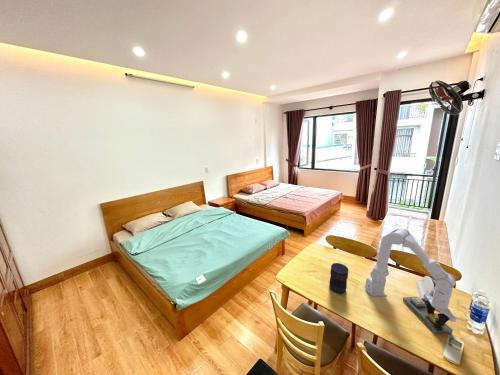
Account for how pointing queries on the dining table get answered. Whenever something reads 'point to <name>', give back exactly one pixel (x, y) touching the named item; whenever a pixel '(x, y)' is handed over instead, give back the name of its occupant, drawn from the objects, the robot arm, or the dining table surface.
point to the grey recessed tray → (423, 316)
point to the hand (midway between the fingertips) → (435, 320)
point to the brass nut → (433, 318)
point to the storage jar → (338, 278)
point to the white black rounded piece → (426, 287)
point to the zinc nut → (418, 303)
